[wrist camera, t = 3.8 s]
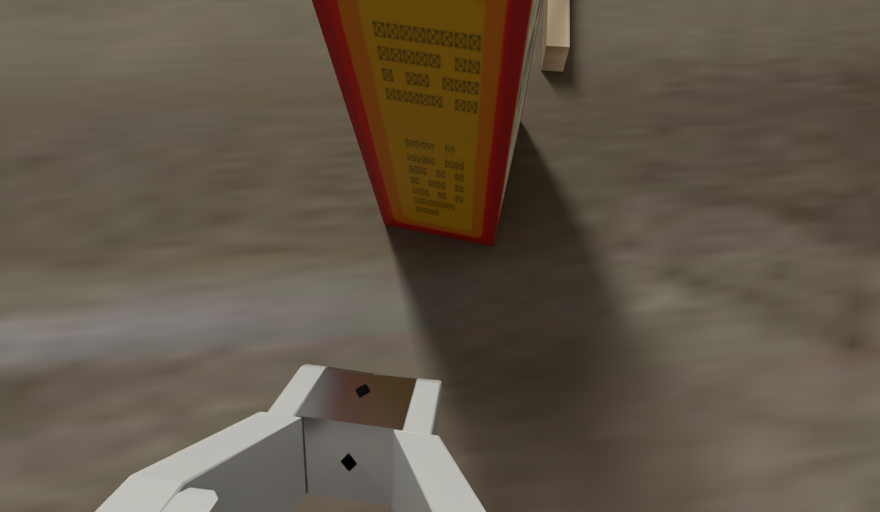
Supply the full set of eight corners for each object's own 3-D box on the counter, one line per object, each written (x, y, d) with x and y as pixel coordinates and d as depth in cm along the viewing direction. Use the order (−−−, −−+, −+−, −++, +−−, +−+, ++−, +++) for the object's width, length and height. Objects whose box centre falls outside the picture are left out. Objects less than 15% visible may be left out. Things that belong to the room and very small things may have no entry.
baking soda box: (425, 105, 29) (391, -240, 15) (520, 120, 28) (583, -232, 14) (384, 224, 25) (284, -86, 11) (493, 246, 24) (540, -61, 10)
